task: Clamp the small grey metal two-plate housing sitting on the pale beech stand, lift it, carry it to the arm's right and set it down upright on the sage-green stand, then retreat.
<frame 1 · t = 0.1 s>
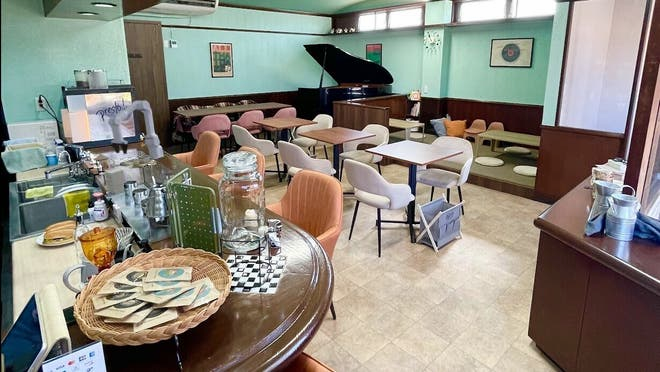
hand: (121, 153, 283), 10 cm above the bar counter, tool pointing down, fingers open, 7 cm apart
stand a: (145, 164, 290), on the bar counter
housing: (144, 162, 290), point 2 cm above the bar counter, touching stand a
teacup with lid: (106, 170, 281), on the bar counter
supplement box: (118, 191, 232), on the bar counter
stand b: (131, 163, 296), on the bar counter
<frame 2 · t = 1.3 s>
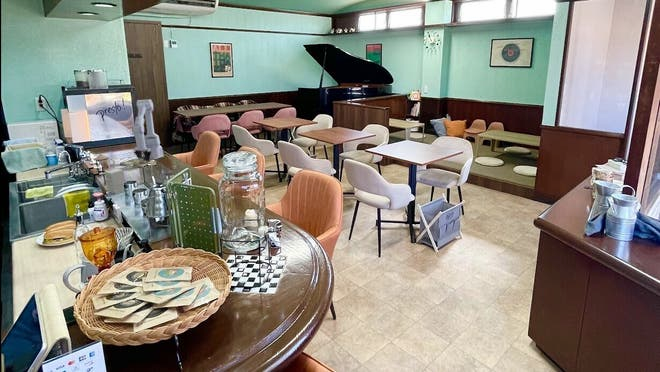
hand: (144, 160, 289), 3 cm above the bar counter, tool pointing down, fingers open, 7 cm apart
nothing on the bar counter moved.
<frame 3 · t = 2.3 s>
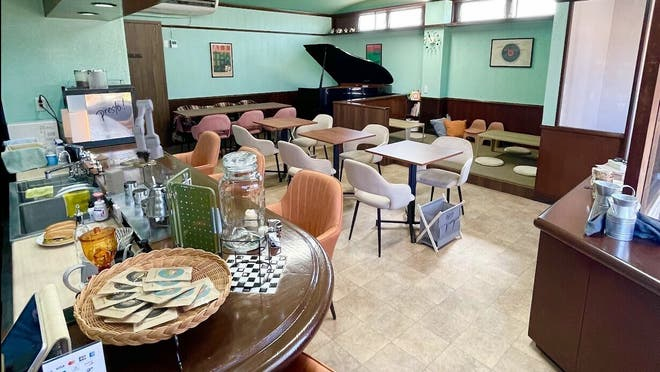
hand: (144, 161, 289), 2 cm above the bar counter, tool pointing down, fingers closed on housing, 4 cm apart
housing: (144, 162, 290), point 2 cm above the bar counter, touching gripper, stand a
everything else where it was.
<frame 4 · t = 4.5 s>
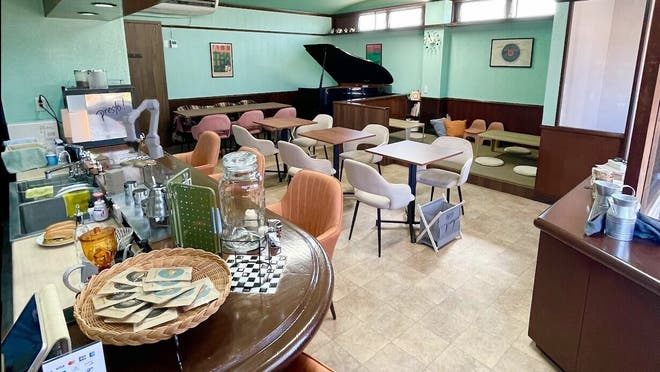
hand: (134, 151, 291), 9 cm above the bar counter, tool pointing down, fingers closed on housing, 4 cm apart
housing: (134, 152, 291), point 9 cm above the bar counter, touching gripper
everything else where it was.
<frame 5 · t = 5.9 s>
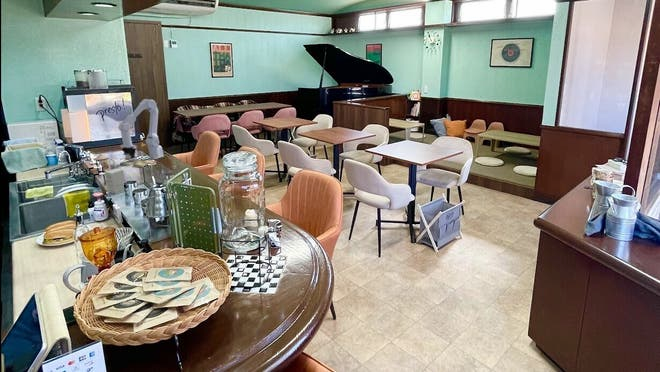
hand: (130, 157, 295), 4 cm above the bar counter, tool pointing down, fingers closed on housing, 4 cm apart
housing: (130, 158, 295), point 4 cm above the bar counter, touching gripper
everything else where it was.
when the fingers open (3 cm above the bar counter, at t = 7.0 s): housing stays where it is, resting on stand b.
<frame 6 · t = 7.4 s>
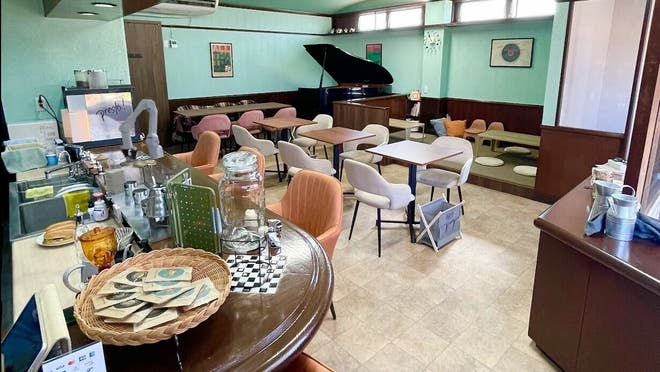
hand: (131, 159, 295), 3 cm above the bar counter, tool pointing down, fingers open, 7 cm apart
housing: (131, 161, 296), point 2 cm above the bar counter, touching stand b
everything else where it was.
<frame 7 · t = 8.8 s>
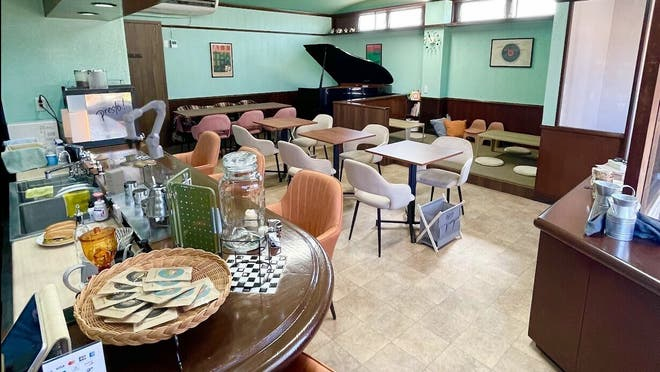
hand: (134, 149, 296), 10 cm above the bar counter, tool pointing down, fingers open, 7 cm apart
nothing on the bar counter moved.
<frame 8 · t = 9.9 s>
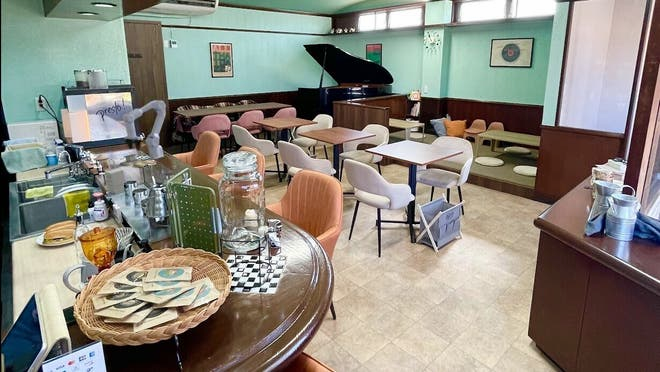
hand: (134, 149, 296), 10 cm above the bar counter, tool pointing down, fingers open, 7 cm apart
nothing on the bar counter moved.
at the end: housing inside the target area on the stand b (0.1 cm from its centre), point 1.5 cm above the stand b's base; housing tilted 0°; the gripper is holding nothing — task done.
